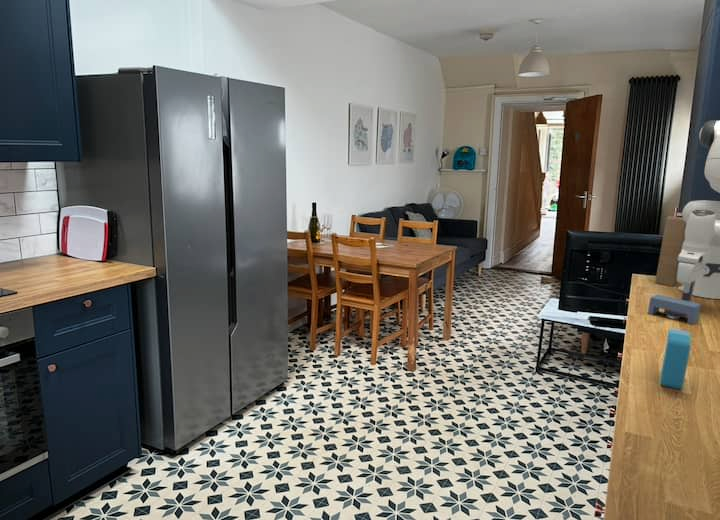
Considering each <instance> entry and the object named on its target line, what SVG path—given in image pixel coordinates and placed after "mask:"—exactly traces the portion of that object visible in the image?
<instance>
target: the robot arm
mask: <svg viewBox="0 0 720 520" xmlns="http://www.w3.org/2000/svg"><path fill="white" fill-rule="evenodd" d="M698 136H699V137H698V138H699V143H700V144H701V146H702V147H705V148H706V149H709V150H708V154H707V157H706V161H705V164H704V165H705V166H704V173H703V174H704V178H705V179H706V180H707V182H708V183H709V186H710V188H711V189H713V190H714V192H717V193H719V194H720V120H717V119H713V120H712V119H711V120H708V121H706V122H705V123H704V124H703V125H702V127H701V129H700V131H699V135H698ZM681 214H682V216H681V217H683V219H684V221H685V222H686V224H687V225H686V229H685V236H684V242H683V245H682V250H681V253H680V254H679V256H678V261H680V262H679V265H678V272H677V283H680V284H682V285H681V286H678V287H677V290H680V291H682V293H683V292H684V293H689V292H690V289H691V288H690V285H691V282H693V281H695V284H694V289H693V294H692V296H696V297H700V298H707V299H713V300H714V299H717V300H718V299H719V300H720V201H719V200H708V199H707V200H704V199H703V200H701V199H699V200H691V201H689V202H688V203H687V204H686V205H685V206H684V208H683V209H682V213H681Z"/></svg>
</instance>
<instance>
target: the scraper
mask: <svg viewBox="0 0 720 520" xmlns="http://www.w3.org/2000/svg"><path fill="white" fill-rule="evenodd" d="M694 284H695V281H693V282H691V285H690V288H691V289H690V292H689V293H684V292H683V291H682V296H681V300H685V301H690V302H692V300H693V299H692V298H693V295H692V294H693V289H694ZM667 313H671V314H676V315H679V318H684V319H688V314H683V313H679V312H675V311H670V310H666V309H664V311H663V314H667Z"/></svg>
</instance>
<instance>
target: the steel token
mask: <svg viewBox="0 0 720 520" xmlns="http://www.w3.org/2000/svg"><path fill="white" fill-rule="evenodd" d="M665 314H666V316H665V317H666V318H669V319H672V320H679V319H680V316H679V315H676V314H671V313H665Z"/></svg>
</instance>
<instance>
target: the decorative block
mask: <svg viewBox="0 0 720 520" xmlns="http://www.w3.org/2000/svg"><path fill="white" fill-rule="evenodd" d="M686 225H687V224H686V222H685V221H684V219H683V216H672V215H668V216H667V217H666V219H665V226H664V231H663V236H662V242H661V248H660V253H659V259H658V263H657V264H658V265H657V269H656V276H655V280H654V284H656V283H657V285H661V284H662V285H663V286H667V285H669V286H668V287H675V285H676V284H677V283H678V281H677V272H678V265H679V262H680V261H678V256H679V254H680V253H681V250H682V245H683V243H684V241H685V229H686ZM662 285H661V286H662Z"/></svg>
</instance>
